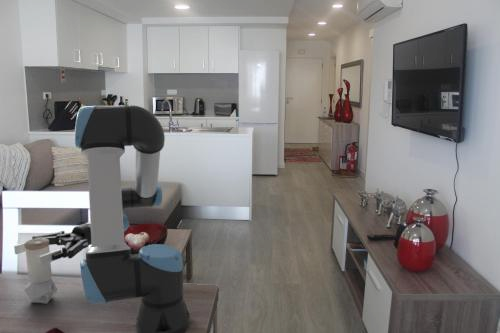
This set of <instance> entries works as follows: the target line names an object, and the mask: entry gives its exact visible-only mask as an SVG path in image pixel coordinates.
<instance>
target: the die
mask: <svg viewBox="0 0 500 333" xmlns="http://www.w3.org/2000/svg"><path fill="white" fill-rule="evenodd" d="M23 290H24V293H25V294H26V295H27V297H28V299H29V300H30V302H31V303H35V304H45V305H46V304H48V303H49V302H50V300H51V299H52V298H53V297H54V295H55V294H56V293H57V291H58V287H57V285H56V284H55V283H54V281H53V279H52V278H51V279H49V280H48V281H45V282H42V283H31V282H29V283H28V284H27V285H26V286H25V287H24V289H23Z"/></svg>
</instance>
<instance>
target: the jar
mask: <svg viewBox="0 0 500 333" xmlns="http://www.w3.org/2000/svg"><path fill="white" fill-rule="evenodd" d="M24 246H25V250H26V251H25V255H26V256H25V258H26V265H27V275H28V282H29V283H30V282H31V283H42V282H45V281H48V280H49V279H52V276H53V275H52V274H53V273H52V265H51V263H52V262H49V263H47V264H44V265H40V259H39V256H41V255H44V254H47V253H50V252H51V251H50V245H49V240H48V239H46V238H37V239H29V240H27V241H25V244H24Z"/></svg>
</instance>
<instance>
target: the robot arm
mask: <svg viewBox="0 0 500 333" xmlns="http://www.w3.org/2000/svg"><path fill="white" fill-rule="evenodd" d="M74 128H75V130H74V135H75V136H74V137H75V138H74V144H75V148H78V149H81V155H83V156H84V157H85V158H86V160H87V172H88V173H87V175H88V176H87V177H88V197H89V199H88V201H89V221H88V222H85V223H83V224H80V225H77V226H74V227H73V228H72V231H71V232H65V230H62V231H58V232H51V233H46V234H40V235H39V234H38V235H33V236H31V238H32V239H37V238H46V239H48V240H49V246H53V245H54V246H55V245H57V246H59V247H60V246H64V247H61V248H58V249H55V250H53V251H50V253H47V254H44V255H41V256H39V259H40V265H44V264H47V263H49V262H51V263H52V262H54V261H57V260H60V259H65V258H68V259H72V258H74V257H75V256H76V255H78V254H79V253H80V252H82V250H84V249H87V248H88V247H89V246H90V247H89V248H88V249H87V251H86V252H85V259H81V261H80V263H79V267H80V274H81V276H80V277H81V281H82V287H83V292H84V295H85V298H86V300H87V302H89V303H90V304H102V303H105V304H107V303H109V302H110V303H111V302H115V301H123V300H124V301H125V300H130V299H136V298H137V299H138V298H141V303H140V307H139V310H138V315H136V316H137V317H136V320H135V326H136V327H135V328H136V332H137V333H186V332H187V331H188V329H189V328H190V325H191V315H190V312H189V310H188V307H187V304H186V302H185V298H184V272H183V270H184V264H183V255H182V253H181V251H180V250H178V248H176V247H174V246H171V245H167V244H160V243H159V244H157V243H155V244H154V243H152V244H148V245H144V246H142V247H141V248H140V249H139V251H138V253H134V254H132V252H131V251H132V249H131V247H130V246H129V245H128V244H126V242H125V232H126V231H127V230H128V229H129V226H130V222H129V220H128V216H127V215H126V214H125V213H124V210H125V209H127V210H128V209H137V208H138V209H139V208H153V207H158V206H159V207H160V206H161V205H162V204H163V193H162V192H163V190H162V187H161V186H160V185H158V183H159V182H158V180H159V171H160V170H159V168H160V159H161V158H160V157H161V151H162V150H163V149H164V147H165V140H166V137H165V131H164V128H163V126H162V124H161V122H160V121H159V120H158V118H157V117H156V116H155V114H154V113H152V112H150V111H149V110H147V109H146V108H144V107H141V106H138V105H135V104H134V105H132V104H131V105H97V104H95V105H87V106H81V107H80V108H79V109H78V111H77V115H76V119H75V127H74ZM131 146H133V148H134V149H135V186H134V187H133V186H132V187H122V176H121V174H122V173H121V160H120V159H121V157H122V156H123V155H124V154H125V153H126V150H125V149H126V148H125V147H131ZM32 239H31V240H32ZM25 242H26V241H25ZM25 242H22V243H19V244H15V245H14V246H13V247H14V254H15V255H19V254H22V253H26V250H25V246H24V244H25Z"/></svg>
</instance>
